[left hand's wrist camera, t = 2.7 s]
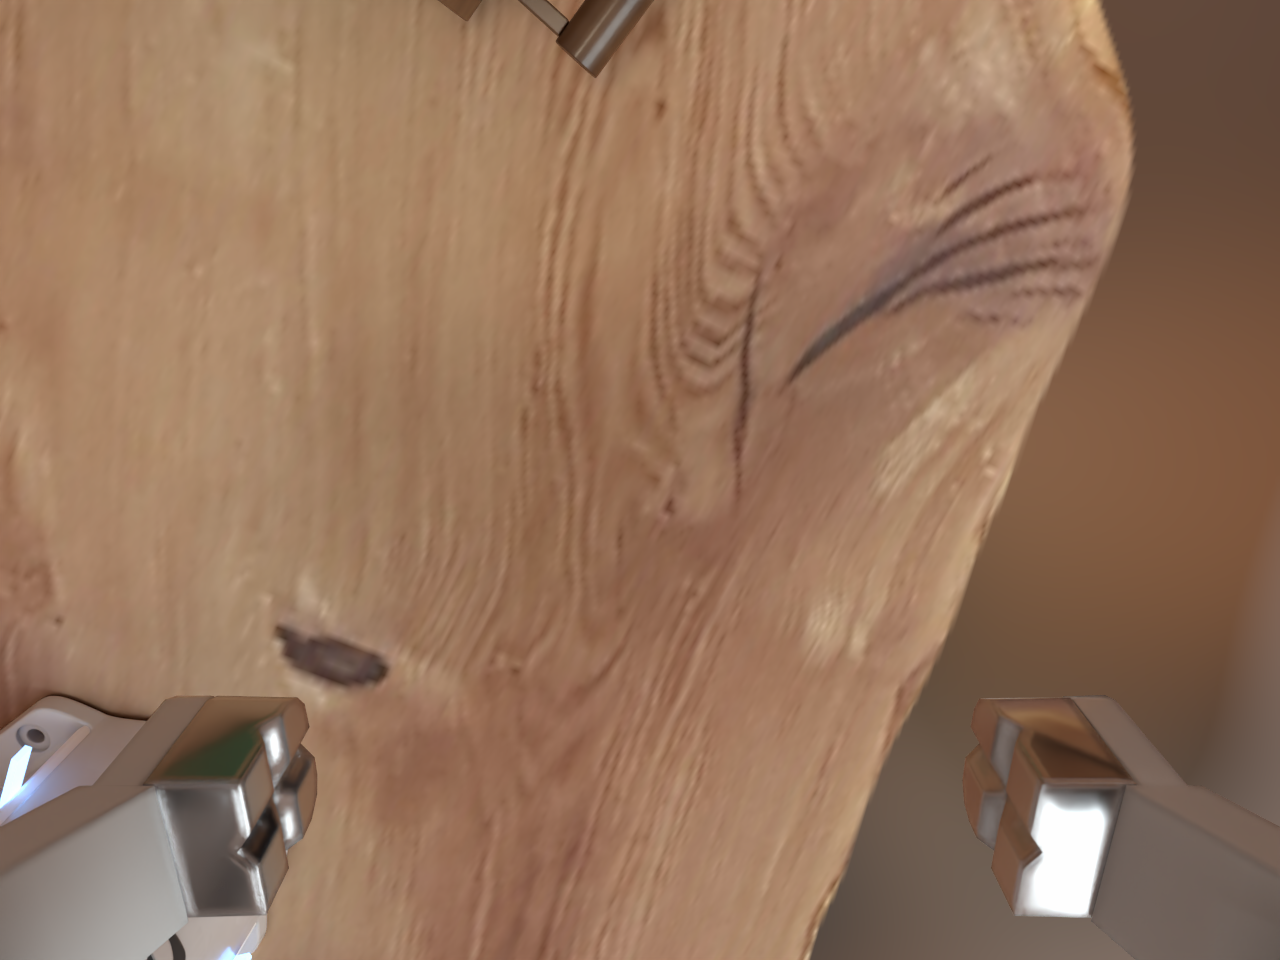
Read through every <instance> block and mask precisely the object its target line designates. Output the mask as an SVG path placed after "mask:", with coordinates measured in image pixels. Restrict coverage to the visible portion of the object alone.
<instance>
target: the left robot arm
mask: <svg viewBox="0 0 1280 960" xmlns="http://www.w3.org/2000/svg"><path fill="white" fill-rule="evenodd" d="M308 728H309V723H308V718H307V713H306V709H305V704H304V703H303V702H302V701H301V700H299V699H298V698H293V697H247V696H216V697H214V696H174V697H171V698H169V699H166V700H165V701H164V702H163V703H162V704H161V705H160V706H159V707H158V709H157V710H156V711H155V712H154V713H153V714H152V716H151V717H150V718H149V719H148V720H147V721H142V720H133V719H125V718H119V717H114V716H110V715H106V714H104V713H102V712H100V711H98V710H96V709H93V708H91V707H89V706H87V705H84V704H82V703H79V702H77V701H74V700H72V699H68V698H65V697H61V696H48V697H45V698H43V699H41V700H39V701H38V702H36V703H35V704H34V705H33V706H31V707H30V708H29V709H27V710H26V711H25V712H24V713H22V714H21V715H20V716H18V717H17V718H16V719H14V720H13V721H12V722H11V723H9V724H8V725H7V726H5V727H4V728H3V729H2V730H0V960H250V959H251V957H252V956H251V955H250V954H251V953H253V952H254V951H255V950H256V949H257V947H258V946H259V944H260V942H261V941H262V939H263V937H264V936H265V933H266V929H267V912H268V910H269V908H270V906H271V904H272V902H273V900H274V898H275V896H276V893H277V891H278V889H279V887H280V885H281V883H282V881H283V879H284V877H285V875H286V873H287V871H288V869H289V866H288V861H287V852H288V849H289V848H290V847H292V846H293V845H294V844H296V843H297V842H298V841H300V840H301V839H303V837H304V835H305V833H306V831H307V828H308V826H309V824H310V822H311V819H312V815H313V811H314V806H315V801H316V796H317V770H316V764H315V757H314V756H313V755H312V754H311V753H310V752H309V751H308V750H307V749H306V748H305V747H304V746H303V745H302V744H301V741H302V740H303V738H304V736H305V734H306V732H307V730H308ZM971 728H972V730H973V732H974V734H975V736H976V738H977V739H978V741H979V744H978V745H977V746H976V747H975V748H974V749H973V750H972V751H971V752H970V753H969V754H968V755H967V756H966V758H965V765H964V773H963V793H964V804H965V808H966V811H967V815H968V818H969V822H970V824H971V826H972V828H973V831H974V833H975V835H976V837H977V838H978V839H979V840H980V841H982V842H983V843H984V844H986V845H987V846H989V847H990V848H991V849H993V850H994V855H993V861H992V866H991V869H992V871H993V873H994V875H995V877H996V879H997V881H998V883H999V885H1000V887H1001V889H1002V891H1003V893H1004V895H1005V897H1006V900H1007V902H1008V904H1009V906H1010V908H1011V910H1012V912H1013V914H1014V915H1019V916H1056V917H1090V918H1092V920H1091V921H1092V922H1093V923H1094V924H1095V925H1096V926H1097V927H1098V928H1100V929H1101V930H1102V931H1103V932H1104V933H1105V934H1107V935H1108V936H1109V937H1110V938H1111V939H1112V940H1113V941H1115V942H1116V943H1117V944H1118V945H1119V946H1120V947H1122V948H1123V949H1124V950H1125V951H1126V952H1127V953H1129V954H1130V955H1131V956H1132V957H1133V958H1134V959H1135V960H1280V827H1279V826H1277V825H1275V824H1273V823H1271V822H1269V821H1268V820H1266V819H1264V818H1262V817H1260V816H1258V815H1256V814H1254V813H1252V812H1250V811H1249V810H1247V809H1245V808H1243V807H1241V806H1239V805H1237V804H1235V803H1233V802H1231V801H1229V800H1228V799H1226V798H1224V797H1222V796H1220V795H1218V794H1216V793H1214V792H1212V791H1210V790H1209V789H1207V788H1205V787H1203V786H1188V785H1187V784H1186V783H1185V782H1184V781H1183V780H1182V778H1181V777H1180V776H1179V775H1178V774H1177V772H1176V771H1175V770H1174V769H1173V768H1172V767H1171V765H1170V764H1169V763H1168V762H1167V761H1166V759H1165V758H1164V757H1163V756H1162V755H1161V754H1160V752H1159V751H1158V750H1157V749H1156V748H1155V746H1154V745H1153V744H1152V743H1151V742H1150V741H1149V739H1148V738H1147V737H1146V736H1145V735H1144V734H1143V732H1142V731H1141V730H1140V729H1139V728H1138V726H1137V725H1136V724H1135V723H1134V722H1133V721H1132V719H1131V718H1130V717H1129V716H1128V715H1127V713H1126V712H1125V711H1124V710H1123V709H1122V708H1121V706H1120V705H1119V704H1118V703H1117V702H1116V701H1115V700H1114V699H1112V698H1110V697H1108V696H1106V695H1095V696H1064V697H1062V698H982V699H979V700H978V702H977V704H976V706H975V708H974V712H973V717H972V722H971ZM38 730H39V731H38ZM40 731H41V732H42V733H41V732H40Z"/></svg>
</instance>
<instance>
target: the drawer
mask: <svg viewBox="0 0 1280 960" xmlns="http://www.w3.org/2000/svg"><path fill="white" fill-rule="evenodd" d="M438 1H440V2H441V3H442V4H444V5H445V6H446V7H448V8H449V9H450V10H452V11H453V12H454V13H456V14H457V15H458V16H460V17H461V18H462V19H464V20H465V21H468V20H469V19H470V17H471V16H472V14H473V13H474V11H475V10H476V8H477V7H478V5H479V4H480V2H481V1H482V0H438ZM518 1H519V2H521V3H522V4H523V5H524V6H525V7H526V8H527V9H528V10H529V11H531V12H532V13H533V14H534V15H535V16H536V17H537V18H538V19H539V20H540V21H542V22H543V23H544V24H545V25H546V26H547V27H548V28H549V29H550V30H552V31H553V32H554V33H555V34H556V35H557V36H558V38H557V40H556V43H557V44H558V45H559V46H560V47H561V48H562V49H563V50H564V51H565V52H566V53H567V54H568V55H569V56H571V57H572V58H573V59H574V60H575V61H576V62H577V63H578V64H579V65H580V66H582V67H583V68H584V69H585V70H586V71H587V72H588V73H590V74H591V75H592V76H593V77H595V78H596V77H597V76H598V75H599V73H600V72H601V71H602V69H603V68H604V66H605V65H606V64H607V62H608V61H609V60H610V58H611V57H612V56H613V54H614V53H615V52H616V50H617V49H618V48H619V46H620V45H621V44H622V42H623V41H624V40H625V38H626V37H627V36H628V34H629V33H630V32H631V30H632V29H633V28H634V26H635V25H636V23H637V22H638V21H639V19H640V18H641V17H642V15H643V14H644V13H645V11H646V10H647V9H648V7H649V6H650V5H651V3H652V2H653V1H654V0H585V1H584V2H583V4H582V5H581V7H580V8H579V9H578V11H577V12H576V13H575V15H574V16H573V18H572V19H571V20H570V22H569V21H568V19H567V18H566V17H565V16H564V15H563V14H561V13H560V12H559V11H558V10H557V9H556V8H555V7H554V6H553V5H552V4H551V3H549V2H548V1H547V0H518Z"/></svg>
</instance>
